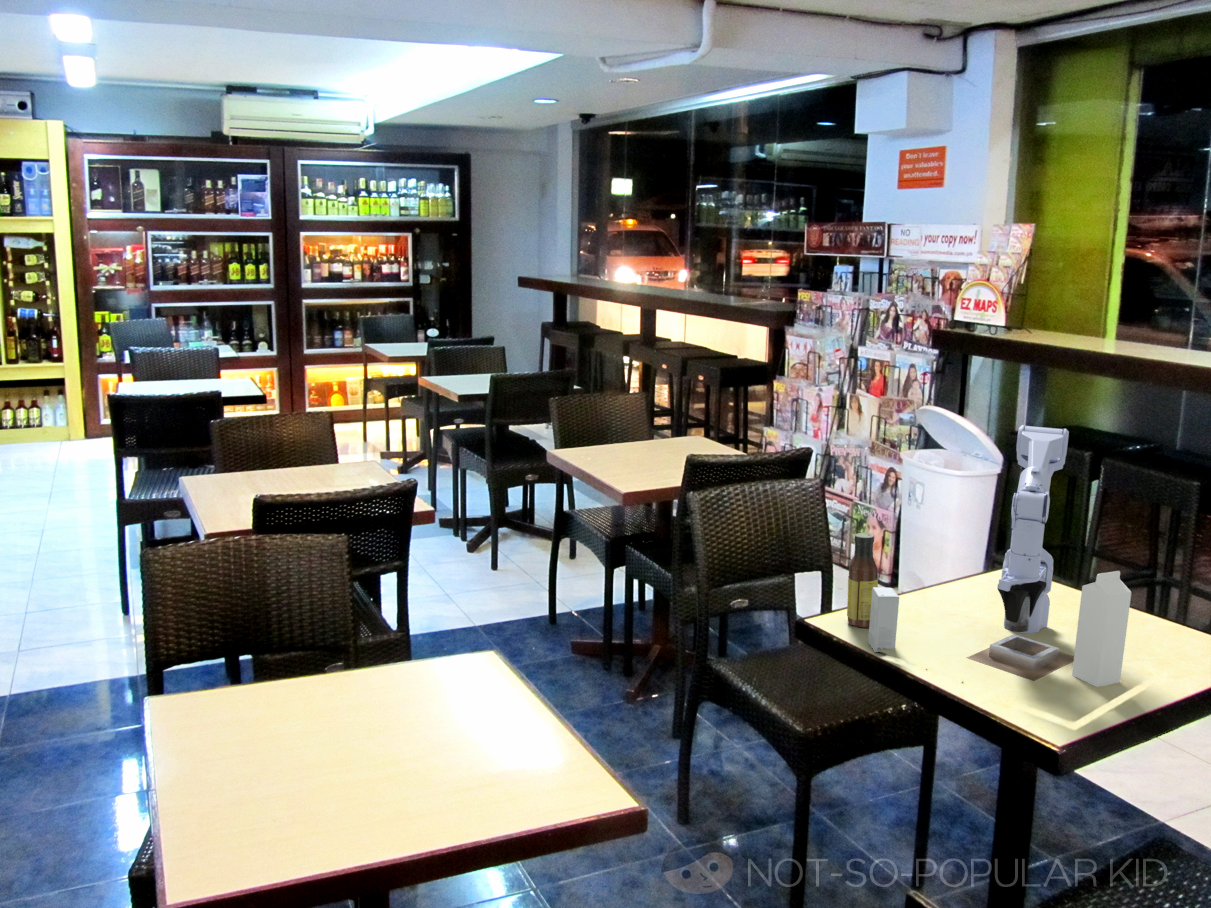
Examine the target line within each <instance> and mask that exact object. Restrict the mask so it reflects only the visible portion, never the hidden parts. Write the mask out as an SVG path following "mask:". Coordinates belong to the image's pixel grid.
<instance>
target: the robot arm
mask: <svg viewBox="0 0 1211 908" xmlns="http://www.w3.org/2000/svg"><path fill="white" fill-rule="evenodd" d="M1017 430H1018V432H1017V439H1016V460H1017V464H1018V465H1019V466H1020V467H1022V468H1024V469H1023V470H1022V471H1021V472H1020V476H1019V481H1018V484H1017V485H1018V487H1017V491H1016V492H1014V493H1013V496H1012V500H1011V501H1012V503H1011V513H1010V514H1011V527H1010V528H1011V537H1010V547H1009V549H1007V550H1006V552H1005V554H1004V560H1003V564H1002V569H1001V578H999V579H998V584H997V591H998V592H999V594H1000V597H1001V600H1002V602H1003V608H1004V616H1005V615H1006V620H1008V621H1011V622H1015V623H1016V622H1018V620H1019V617H1020V613H1021V608H1022V605H1023V602H1024V600H1025V598H1026V596H1027V594H1030V612H1029V629H1028V631H1026V632H1019V633H1020V634H1021V633H1022V634H1035V633H1039V632H1040V631H1041V629H1043V628H1046V629H1049V630H1052V628H1051V627H1048V622H1049V614H1050V605H1051V603H1050V602H1051V601H1050V597H1049V595H1048V594H1049V593H1050V592H1051V591H1052V583H1053V573H1054V558H1053V556H1052V555H1051V553H1049V552H1048V551H1047V550H1046V549H1044V548H1043V543H1044V534H1045V524H1046V523H1047V521H1048V518H1049V512H1050V510H1049V509H1050V504H1051V503H1050V502H1051V497H1050V487H1051V480H1052V477H1053V474H1054V472H1056V471H1059V470H1063V468H1064V465H1065V464H1066V457H1067V452H1068V443H1069V437H1070V435H1069V433H1070V431H1069V430H1068V429H1067V428H1056V427H1055V428H1054V427H1053V428H1052V427H1042V426H1032V425H1031V426H1030V425H1024V424H1021V426H1019V427H1018V429H1017ZM1004 620H1005V617H1004ZM1004 620H1003V621H1004Z"/></svg>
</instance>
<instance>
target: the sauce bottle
mask: <svg viewBox="0 0 1211 908" xmlns="http://www.w3.org/2000/svg"><path fill="white" fill-rule="evenodd" d="M853 540H854V556H853V557H851V558H852V559H851V560H850V561H849V563H848V564H849V565H848V578H847V603H846V604H847V606H846V607H847V609H846V616H847V622H848V623H849V625H851V626H854V627H856V628H863V629H864V628H866V629H867V628H869V625H870V612H871V600H872V588H873V587H879V586H878V585H879V584H878V583H879V573H878V565H877V564H876V562H875V559H874V551H873V550H874V542H875V536H874V534H871V533H869V532H858V533H855V534H854V539H853Z"/></svg>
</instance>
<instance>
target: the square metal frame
mask: <svg viewBox="0 0 1211 908" xmlns="http://www.w3.org/2000/svg"><path fill="white" fill-rule="evenodd" d="M989 648H990V649H989V656H990V657H993V658H996V659H999V660H1002V661H1005V662H1008V663H1011V664H1014V665H1017V666H1020V667H1023V668H1026V669H1029V670H1032V671H1035V670H1037V669H1039V668H1041V667H1043V666H1045V665H1047V664H1050V663H1052V662H1054V661H1056V660H1058V652H1060V648H1059V647H1058V646H1057V647H1056V646H1055V645H1051V644H1048V643H1044V642H1041V641H1037V640H1034V639H1031V638H1028V637H1025V636H1022V635H1018V634H1015V633H1013V634H1011V635H1009V636H1006V637H1004V638H1001V639H999V640H998V641H995V642H993V643H990V644H989ZM1015 648H1016V649H1019V650H1023V651H1026V652H1029V653H1032V654H1035V655H1033V656H1031V655H1028V654H1024V653H1021V652H1018V651H1015V650H1013V649H1015Z"/></svg>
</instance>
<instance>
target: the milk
mask: <svg viewBox="0 0 1211 908" xmlns="http://www.w3.org/2000/svg"><path fill="white" fill-rule="evenodd" d="M1120 576H1121V571H1120V570H1115V571H1109V572H1101V573H1097V575H1096V576H1095V577H1096V578H1095V582H1090V583H1088V584H1084V585H1082V586H1081V596H1080V602H1079V603H1080V604H1079V611H1078V612H1079V613H1078V621H1077V630H1076V636H1075V637H1076V638H1075V645H1074V646H1075V647H1074V655H1073V656H1074V661H1073V662H1072V671H1071V675H1072V676H1073V677H1075V678H1076V679H1079V680H1081V681H1083V682H1085V683H1086V684H1089V685H1092V686H1093V687H1095V688H1101V687H1105V686H1109V685H1115V684H1119V683H1121V677H1122V668H1123V661H1124V653H1125V646H1126V639H1127V638H1126V637H1127V632H1128V631H1127V630H1128V623H1129V621H1128V620H1129V614H1130V606H1131V598H1132V591H1131V590H1130V588H1128V586H1127V585H1126V584H1125V583H1124V582H1123V581H1122V580H1121V577H1120Z"/></svg>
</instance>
